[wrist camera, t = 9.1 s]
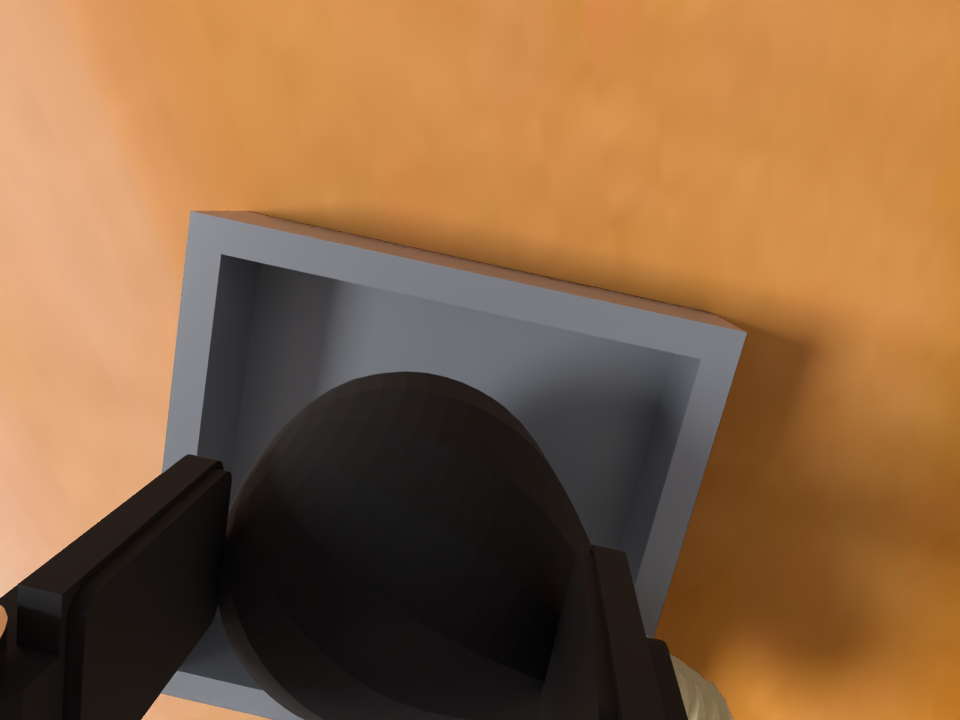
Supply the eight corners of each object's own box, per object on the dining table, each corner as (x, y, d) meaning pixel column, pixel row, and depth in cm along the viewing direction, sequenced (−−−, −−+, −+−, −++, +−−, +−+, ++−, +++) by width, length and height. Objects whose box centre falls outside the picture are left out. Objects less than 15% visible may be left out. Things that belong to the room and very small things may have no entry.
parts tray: (593, 713, 21) (605, 796, 18) (192, 621, 21) (138, 687, 18) (710, 312, 18) (747, 332, 15) (245, 210, 18) (190, 210, 15)
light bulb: (871, 947, 11) (237, 549, 8) (578, 928, 15) (94, 665, 12) (823, 582, 16) (423, 248, 13) (612, 644, 20) (275, 407, 17)
